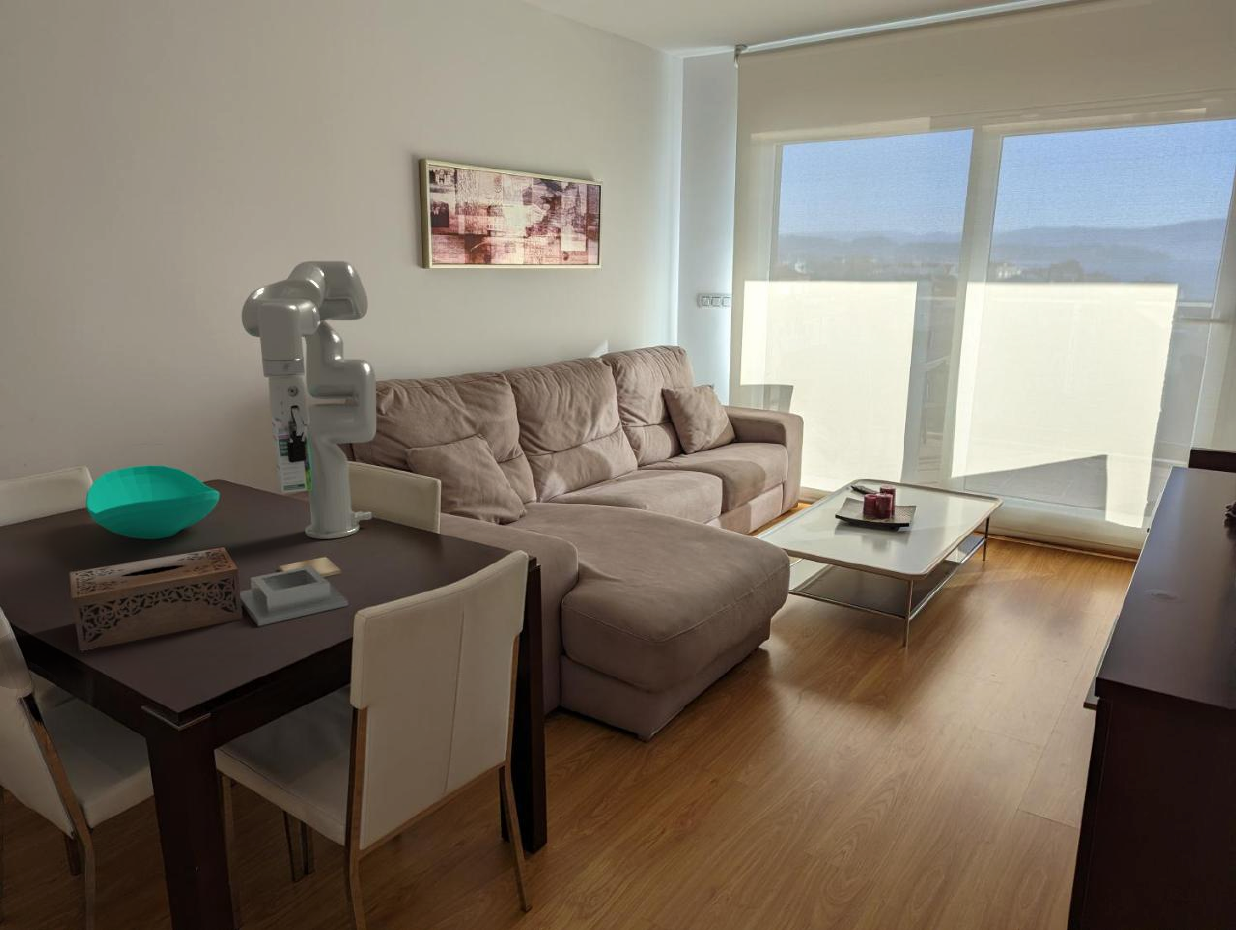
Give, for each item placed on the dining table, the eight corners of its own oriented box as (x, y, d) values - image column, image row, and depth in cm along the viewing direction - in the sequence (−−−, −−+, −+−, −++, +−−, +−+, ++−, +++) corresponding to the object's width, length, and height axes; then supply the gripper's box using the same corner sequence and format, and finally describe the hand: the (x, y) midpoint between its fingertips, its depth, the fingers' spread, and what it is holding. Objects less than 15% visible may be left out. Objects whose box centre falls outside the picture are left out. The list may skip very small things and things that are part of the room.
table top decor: (245, 542, 201) (240, 488, 198) (112, 569, 184) (104, 509, 180) (195, 506, 230) (190, 458, 227) (76, 526, 213) (68, 475, 210)
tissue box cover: (229, 595, 170) (223, 547, 168) (242, 619, 159) (237, 568, 156) (77, 623, 157) (69, 572, 154) (80, 653, 145) (71, 598, 143)
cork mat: (326, 560, 189) (325, 557, 189) (341, 573, 182) (340, 569, 181) (279, 569, 184) (279, 566, 184) (292, 583, 176) (292, 579, 176)
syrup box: (281, 494, 168) (274, 422, 164) (278, 486, 173) (271, 416, 169) (312, 490, 170) (306, 419, 166) (307, 483, 175) (301, 413, 171)
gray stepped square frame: (321, 580, 177) (319, 560, 176) (347, 605, 165) (346, 583, 163) (237, 598, 168) (234, 576, 167) (258, 626, 155) (256, 603, 154)
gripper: (317, 371, 161) (325, 464, 165) (290, 360, 174) (298, 446, 179) (276, 375, 156) (285, 470, 161) (252, 363, 170) (261, 451, 174)
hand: (292, 456), depth 170 cm, fingers closed on syrup box, 6 cm apart
